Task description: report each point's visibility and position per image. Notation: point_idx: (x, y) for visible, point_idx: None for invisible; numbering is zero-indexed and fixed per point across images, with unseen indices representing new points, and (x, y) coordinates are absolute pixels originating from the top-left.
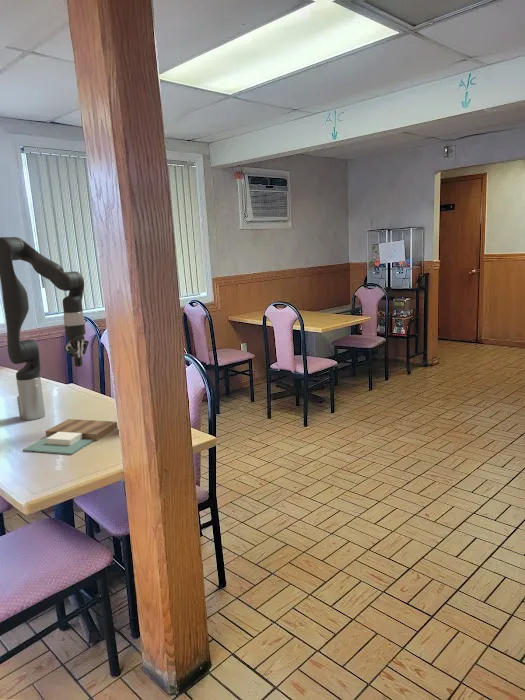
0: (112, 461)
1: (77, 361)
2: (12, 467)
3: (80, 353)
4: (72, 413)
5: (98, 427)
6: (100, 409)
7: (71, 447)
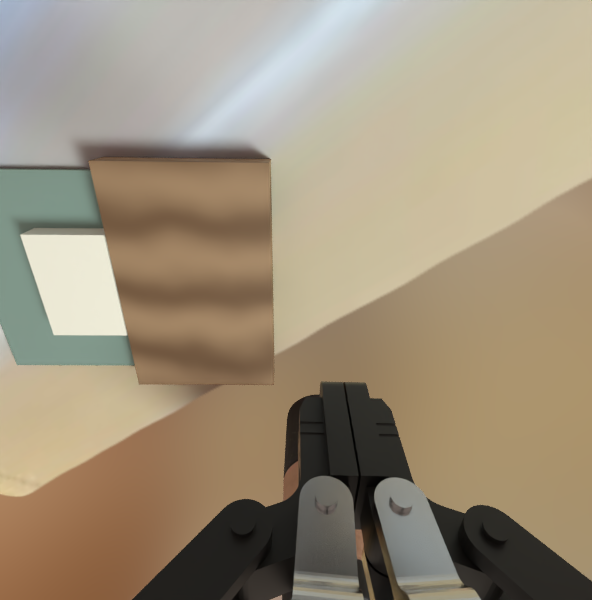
0: (45, 470)
1: (299, 471)
2: None
3: (371, 596)
4: (454, 38)
5: (200, 356)
6: (512, 171)
7: (51, 338)
